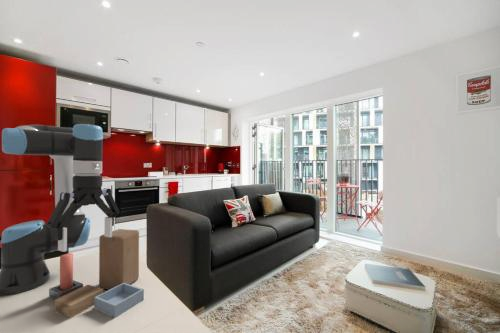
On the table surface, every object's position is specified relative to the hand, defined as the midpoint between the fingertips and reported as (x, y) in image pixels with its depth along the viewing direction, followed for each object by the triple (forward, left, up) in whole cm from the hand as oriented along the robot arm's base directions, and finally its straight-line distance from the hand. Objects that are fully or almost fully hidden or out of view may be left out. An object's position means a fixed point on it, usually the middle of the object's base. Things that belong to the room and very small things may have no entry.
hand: (87, 243), depth 70 cm
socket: (-17, +3, -22) cm, 28 cm away
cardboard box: (-6, +1, -22) cm, 23 cm away
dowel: (-17, +3, -22) cm, 28 cm away
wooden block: (-7, +16, -22) cm, 28 cm away
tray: (+5, +7, -22) cm, 23 cm away
